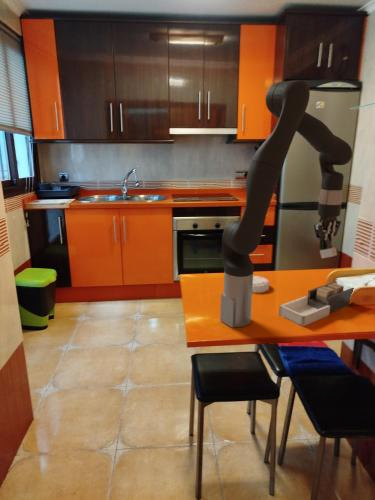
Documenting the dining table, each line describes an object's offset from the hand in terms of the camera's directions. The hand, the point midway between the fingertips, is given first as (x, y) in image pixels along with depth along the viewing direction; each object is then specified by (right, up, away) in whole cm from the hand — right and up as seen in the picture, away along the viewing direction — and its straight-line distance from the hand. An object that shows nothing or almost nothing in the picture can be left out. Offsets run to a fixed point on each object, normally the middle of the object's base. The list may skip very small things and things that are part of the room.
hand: (325, 248), depth 128 cm
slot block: (+1, -21, -1) cm, 21 cm away
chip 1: (-2, -18, -4) cm, 19 cm away
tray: (-11, -23, -9) cm, 27 cm away
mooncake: (-24, -16, +15) cm, 32 cm away
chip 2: (+3, -18, -1) cm, 18 cm away
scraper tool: (+1, -3, -1) cm, 3 cm away
